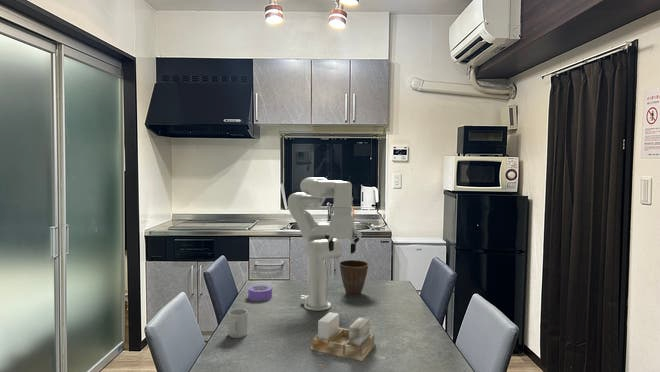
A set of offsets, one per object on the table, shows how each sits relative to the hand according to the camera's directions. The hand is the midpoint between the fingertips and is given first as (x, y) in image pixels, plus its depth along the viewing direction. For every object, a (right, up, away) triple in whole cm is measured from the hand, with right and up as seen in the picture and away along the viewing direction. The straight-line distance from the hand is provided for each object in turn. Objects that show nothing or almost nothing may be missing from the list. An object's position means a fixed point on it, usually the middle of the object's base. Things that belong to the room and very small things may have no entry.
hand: (341, 251), depth 171 cm
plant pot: (+7, -29, +42) cm, 51 cm away
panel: (-5, -30, -19) cm, 36 cm away
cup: (-41, -31, -13) cm, 53 cm away
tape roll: (-40, -29, +34) cm, 60 cm away
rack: (0, -31, -22) cm, 38 cm away
